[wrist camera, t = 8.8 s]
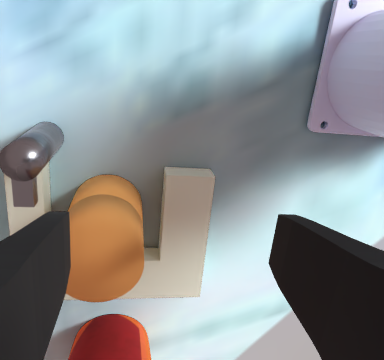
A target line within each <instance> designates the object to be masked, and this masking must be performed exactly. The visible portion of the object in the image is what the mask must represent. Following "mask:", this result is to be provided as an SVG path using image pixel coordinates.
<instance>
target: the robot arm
mask: <svg viewBox="0 0 384 360" xmlns="http://www.w3.org/2000/svg"><path fill="white" fill-rule="evenodd" d="M349 1H350V0H334V3H333V8H332V12H331V17H330V21H329V26H328V31H327V35H326V40H325V44H324V49H323V54H322V58H321V63H320V67H319V72H318V76H317V81H316V86H315V90H314V95H313V99H312V104H311V109H310V113H309V118H308V122H307V127H308V129H309V130H310V131H313V132H319V133H333V134H348V135H362V136H376V137H384V0H351V1H352V2H353V6H352V8H351V9H350V8H349ZM323 121H324V122H325V125H324V127H322V128H321V127H320V125H321V123H322V122H323ZM269 265H270V268H271V270H272V273H273V275H274V278H275V280H276V282H277V284H278V286H279V288H280V290H281V292H282V293H283V295H284V297H285V298H286V300H287V302H288V303H289V305H290V306H291V308H292V310H293V311H294V313H295V314H296V316H297V318H298V319H299V321H300V322H301V324H302V326H303V327H304V329H305V331H306V332H307V334H308V335H309V337H310V339H311V340H312V342H313V344H314V346H315V347H316V349H317V351H318V353H319V355H320V357H321V359H322V360H384V251H382V250H379V249H377V248H375V247H372V246H370V245H367V244H365V243H362V242H360V241H357V240H355V239H353V238H350V237H348V236H346V235H343V234H341V233H339V232H337V231H334V230H332V229H330V228H328V227H325V226H323V225H321V224H319V223H316V222H314V221H311V220H309V219H306V218H304V217H301V216H297V215H285V214H278V219H277V224H276V229H275V234H274V239H273V244H272V249H271V254H270V259H269ZM70 268H71V254H70V217H69V212H58V211H49V212H47V213H45V214H43V215H42V216H40V217H39V218H37V219H36V220H34V221H33V222H31V223H29V224H28V225H26V226H25V227H23V228H22V229H20V230H19V231H17V232H15V233H14V234H12V235H11V236H9V237H7V238H5V239H4V240H2V241H0V360H43V359H44V356H45V353H46V350H47V347H48V344H49V341H50V338H51V335H52V333H53V330H54V327H55V324H56V321H57V318H58V315H59V312H60V309H61V306H62V303H63V300H64V297H65V294H66V289H67V284H68V279H69V274H70Z"/></svg>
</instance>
